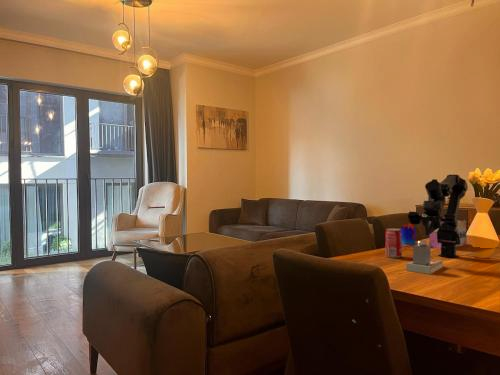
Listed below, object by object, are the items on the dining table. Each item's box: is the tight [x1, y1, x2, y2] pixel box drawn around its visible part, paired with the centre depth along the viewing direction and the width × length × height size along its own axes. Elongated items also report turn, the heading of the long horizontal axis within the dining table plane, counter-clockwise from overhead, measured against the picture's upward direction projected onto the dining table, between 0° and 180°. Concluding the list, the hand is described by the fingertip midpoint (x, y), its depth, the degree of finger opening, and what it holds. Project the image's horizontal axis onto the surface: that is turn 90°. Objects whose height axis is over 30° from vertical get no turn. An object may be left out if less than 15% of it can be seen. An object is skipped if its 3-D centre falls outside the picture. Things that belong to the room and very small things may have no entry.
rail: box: [405, 259, 445, 275], centre depth 159 cm, size 17×9×3 cm, turn 137°
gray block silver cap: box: [412, 240, 432, 266], centre depth 155 cm, size 5×5×10 cm
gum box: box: [428, 219, 467, 250], centre depth 210 cm, size 24×8×14 cm, turn 122°
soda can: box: [385, 228, 403, 259], centre depth 181 cm, size 7×7×13 cm
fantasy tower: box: [400, 222, 417, 248], centre depth 212 cm, size 12×12×12 cm
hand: (427, 234), depth 159 cm, fingers closed
